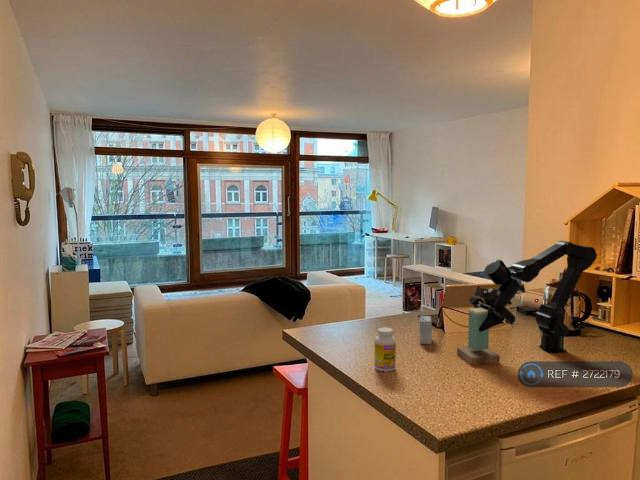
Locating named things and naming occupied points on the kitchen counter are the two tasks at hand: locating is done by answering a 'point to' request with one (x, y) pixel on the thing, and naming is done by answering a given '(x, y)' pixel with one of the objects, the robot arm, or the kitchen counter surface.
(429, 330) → the medicine box
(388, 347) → the supplement bottle
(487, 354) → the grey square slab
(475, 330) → the tea tin
